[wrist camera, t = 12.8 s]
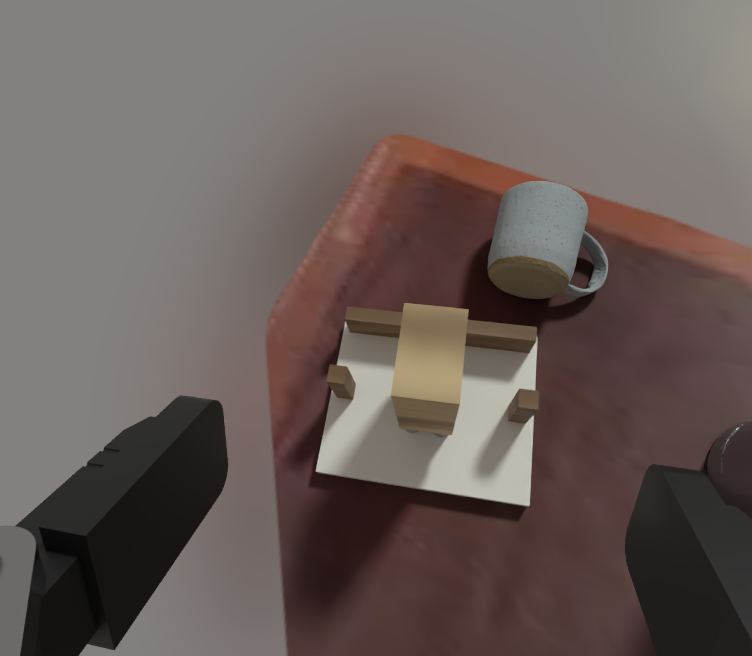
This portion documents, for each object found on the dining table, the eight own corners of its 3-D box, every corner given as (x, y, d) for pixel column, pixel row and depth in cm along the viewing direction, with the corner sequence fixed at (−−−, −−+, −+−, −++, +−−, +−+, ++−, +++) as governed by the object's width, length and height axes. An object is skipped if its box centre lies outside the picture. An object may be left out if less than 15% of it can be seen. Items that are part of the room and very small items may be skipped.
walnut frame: (525, 423, 40) (538, 409, 36) (337, 397, 43) (326, 381, 38) (530, 340, 43) (542, 317, 38) (352, 320, 45) (343, 296, 41)
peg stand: (526, 506, 39) (529, 505, 38) (318, 472, 42) (315, 471, 40) (534, 341, 44) (537, 336, 43) (348, 320, 47) (346, 315, 46)
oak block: (451, 435, 38) (459, 404, 28) (399, 428, 38) (390, 395, 29) (459, 360, 40) (468, 309, 31) (409, 355, 40) (404, 303, 31)
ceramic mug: (479, 294, 46) (490, 252, 39) (495, 221, 49) (508, 170, 42) (596, 319, 45) (630, 279, 37) (606, 242, 47) (639, 192, 40)
